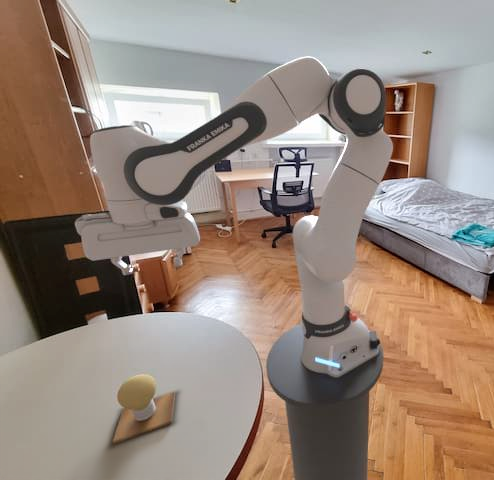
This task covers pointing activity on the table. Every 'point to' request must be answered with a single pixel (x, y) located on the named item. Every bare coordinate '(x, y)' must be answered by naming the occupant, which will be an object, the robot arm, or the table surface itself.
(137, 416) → the light bulb
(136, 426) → the wooden board
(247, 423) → the table surface
